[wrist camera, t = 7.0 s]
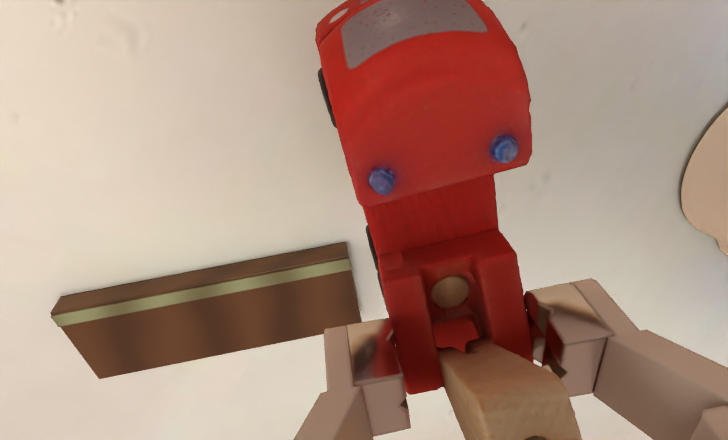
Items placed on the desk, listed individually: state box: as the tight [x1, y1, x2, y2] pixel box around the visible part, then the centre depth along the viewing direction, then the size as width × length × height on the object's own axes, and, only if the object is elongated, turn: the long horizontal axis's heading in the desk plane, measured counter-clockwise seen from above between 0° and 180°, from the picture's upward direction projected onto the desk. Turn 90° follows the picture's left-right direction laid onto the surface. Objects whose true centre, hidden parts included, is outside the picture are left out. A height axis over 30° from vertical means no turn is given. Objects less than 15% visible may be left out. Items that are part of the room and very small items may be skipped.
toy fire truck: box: [315, 0, 582, 440], centre depth 9 cm, size 3×14×10 cm, turn 13°
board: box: [51, 242, 362, 379], centre depth 32 cm, size 20×7×2 cm, turn 98°
